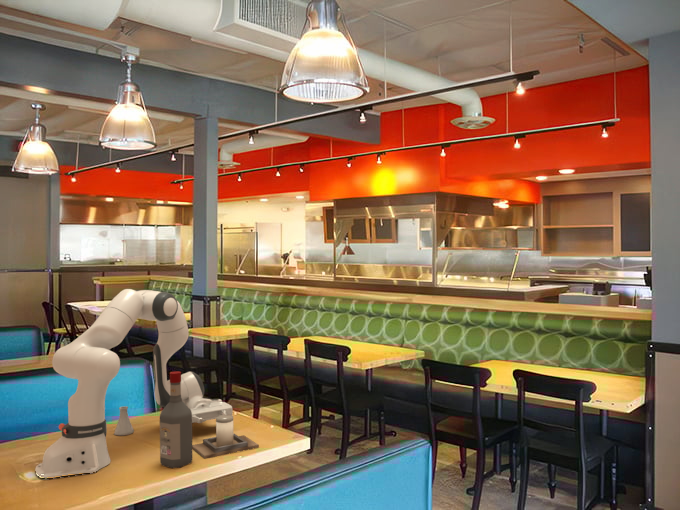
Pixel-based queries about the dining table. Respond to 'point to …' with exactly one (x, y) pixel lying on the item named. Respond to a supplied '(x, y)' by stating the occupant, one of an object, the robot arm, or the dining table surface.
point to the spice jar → (224, 430)
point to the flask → (123, 423)
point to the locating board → (211, 450)
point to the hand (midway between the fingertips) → (212, 418)
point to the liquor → (175, 428)
